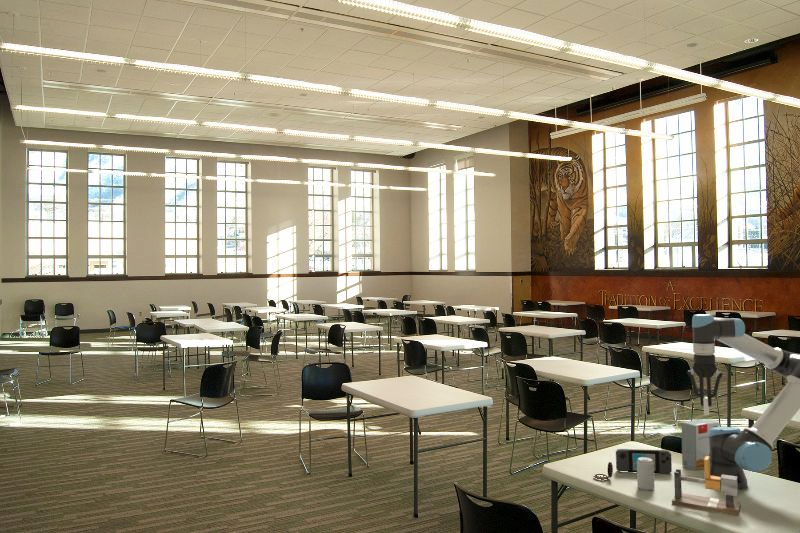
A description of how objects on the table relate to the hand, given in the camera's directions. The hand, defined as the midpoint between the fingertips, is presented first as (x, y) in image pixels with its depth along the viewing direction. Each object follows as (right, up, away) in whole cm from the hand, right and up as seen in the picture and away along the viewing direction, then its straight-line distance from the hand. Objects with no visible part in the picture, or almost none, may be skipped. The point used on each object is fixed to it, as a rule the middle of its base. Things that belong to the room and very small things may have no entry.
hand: (706, 414), depth 235 cm
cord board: (-5, -32, -9) cm, 34 cm away
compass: (-33, -34, +22) cm, 52 cm away
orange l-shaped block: (-3, -25, -10) cm, 27 cm away
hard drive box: (+17, -33, +37) cm, 52 cm away
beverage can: (-19, -33, +11) cm, 40 cm away
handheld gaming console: (-12, -34, +30) cm, 47 cm away
